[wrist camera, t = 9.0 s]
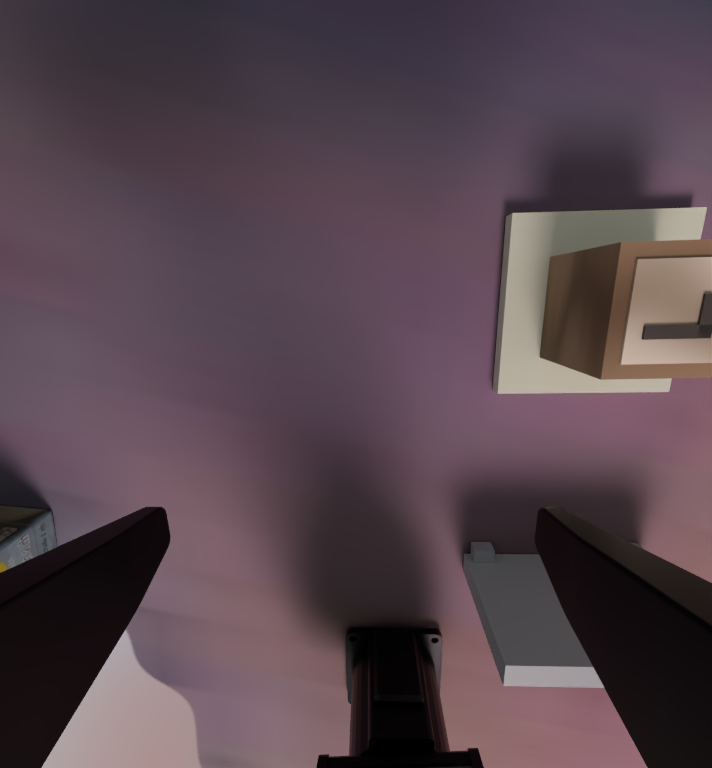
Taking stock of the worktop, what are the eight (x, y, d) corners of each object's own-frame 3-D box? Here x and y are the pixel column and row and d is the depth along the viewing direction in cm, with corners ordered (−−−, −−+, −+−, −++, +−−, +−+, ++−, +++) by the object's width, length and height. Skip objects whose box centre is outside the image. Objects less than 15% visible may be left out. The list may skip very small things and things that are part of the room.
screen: (634, 582, 23) (749, 705, 16) (462, 581, 23) (501, 700, 16) (643, 542, 22) (766, 653, 15) (464, 541, 22) (507, 649, 15)
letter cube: (637, 355, 18) (740, 378, 13) (539, 357, 18) (604, 380, 13) (654, 253, 17) (775, 236, 12) (550, 257, 17) (625, 241, 12)
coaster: (657, 387, 19) (669, 391, 19) (492, 389, 20) (497, 393, 19) (691, 211, 17) (706, 207, 16) (506, 216, 18) (512, 212, 17)
